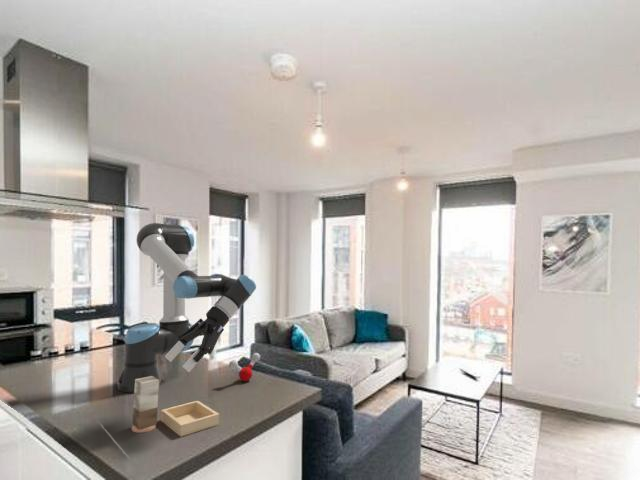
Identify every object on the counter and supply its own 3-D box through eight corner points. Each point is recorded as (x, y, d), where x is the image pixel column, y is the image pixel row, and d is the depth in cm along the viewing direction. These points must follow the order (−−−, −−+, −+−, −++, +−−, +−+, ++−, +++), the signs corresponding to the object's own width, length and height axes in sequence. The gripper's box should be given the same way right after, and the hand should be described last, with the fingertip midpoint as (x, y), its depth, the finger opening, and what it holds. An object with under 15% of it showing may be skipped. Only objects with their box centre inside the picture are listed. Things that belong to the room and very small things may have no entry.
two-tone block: (132, 424, 109) (135, 379, 110) (149, 419, 113) (152, 375, 114) (138, 429, 106) (141, 383, 107) (156, 424, 110) (159, 379, 110)
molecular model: (251, 374, 164) (252, 351, 165) (262, 376, 162) (263, 352, 162) (226, 385, 148) (227, 360, 149) (238, 388, 146) (239, 362, 146)
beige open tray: (160, 421, 114) (161, 409, 114) (197, 411, 123) (197, 400, 123) (180, 438, 104) (181, 425, 105) (218, 425, 113) (219, 413, 113)
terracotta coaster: (126, 433, 106) (127, 428, 106) (139, 423, 113) (139, 419, 113) (148, 434, 106) (148, 430, 106) (159, 424, 112) (160, 420, 112)
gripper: (248, 325, 120) (202, 381, 109) (210, 314, 138) (168, 362, 127) (234, 310, 117) (185, 366, 106) (198, 301, 135) (153, 348, 124)
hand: (176, 364), depth 116 cm, fingers open, 13 cm apart
